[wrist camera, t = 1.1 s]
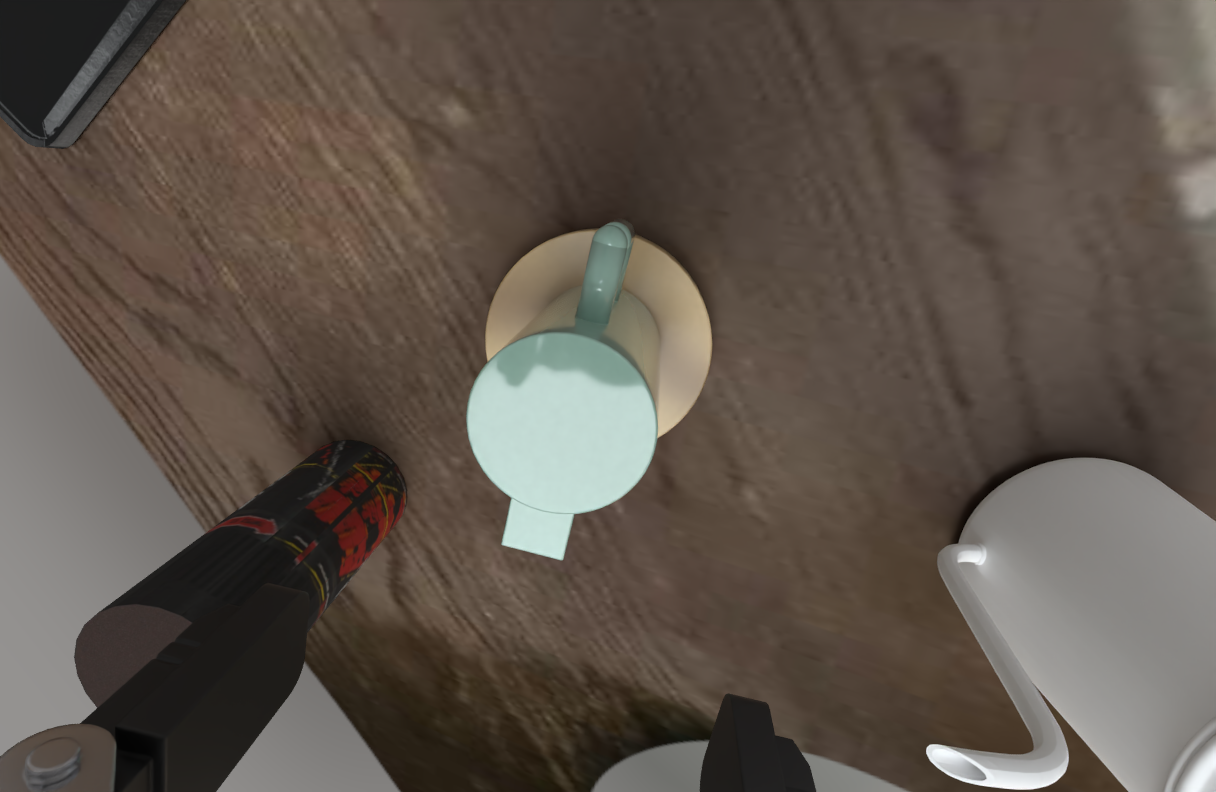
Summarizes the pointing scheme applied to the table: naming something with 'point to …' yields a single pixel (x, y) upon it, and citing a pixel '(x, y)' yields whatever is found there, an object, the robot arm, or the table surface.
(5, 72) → the phone
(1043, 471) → the coffeepot
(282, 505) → the deodorant
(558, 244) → the stand
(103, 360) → the table surface
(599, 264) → the jug
